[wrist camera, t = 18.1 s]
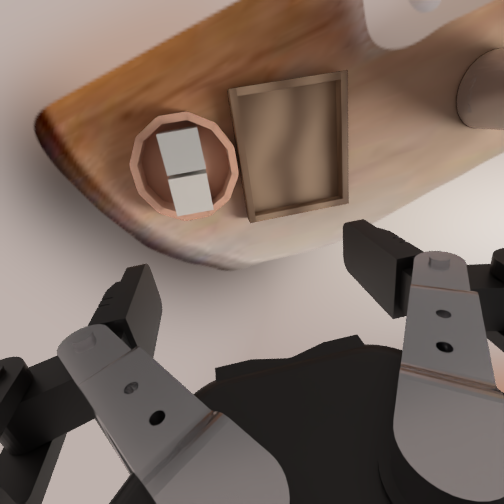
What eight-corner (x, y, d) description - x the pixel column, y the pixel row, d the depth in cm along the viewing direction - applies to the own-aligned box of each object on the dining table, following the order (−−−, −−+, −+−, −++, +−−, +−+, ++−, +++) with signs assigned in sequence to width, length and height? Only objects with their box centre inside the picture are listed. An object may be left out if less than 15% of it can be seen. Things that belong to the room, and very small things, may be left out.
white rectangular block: (204, 164, 37) (206, 173, 31) (211, 196, 38) (213, 209, 33) (171, 169, 36) (167, 179, 31) (179, 202, 38) (177, 216, 32)
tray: (340, 72, 35) (347, 70, 34) (342, 199, 42) (348, 203, 41) (227, 90, 34) (228, 89, 32) (247, 218, 41) (250, 223, 39)
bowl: (224, 105, 35) (227, 104, 32) (240, 201, 40) (244, 209, 37) (122, 122, 34) (115, 123, 31) (152, 218, 39) (149, 228, 36)
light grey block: (196, 125, 35) (197, 127, 29) (204, 160, 36) (205, 168, 31) (162, 131, 34) (155, 134, 29) (171, 166, 36) (167, 176, 31)
